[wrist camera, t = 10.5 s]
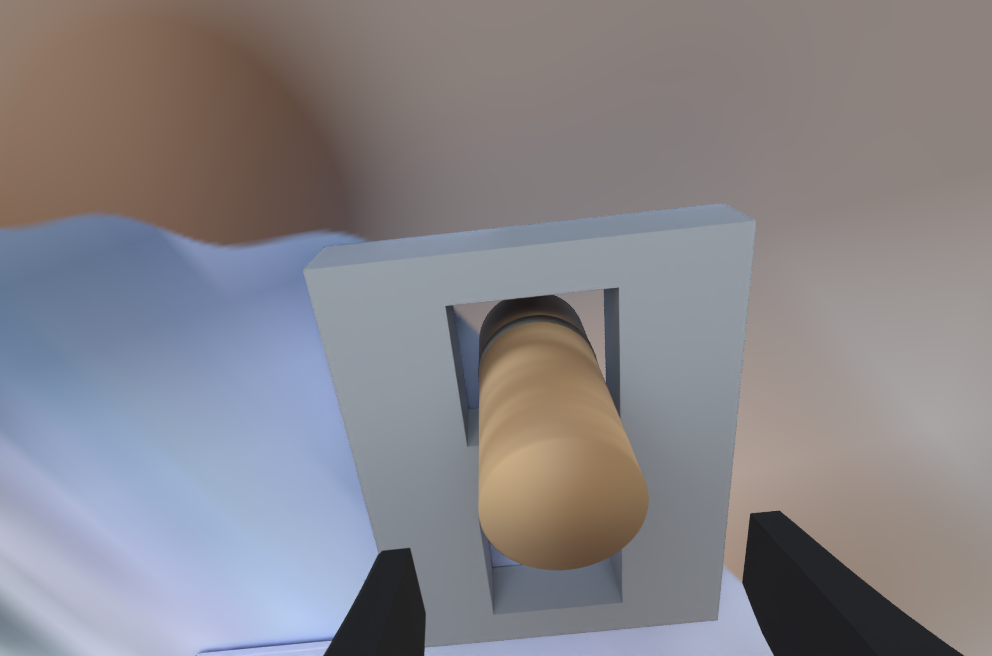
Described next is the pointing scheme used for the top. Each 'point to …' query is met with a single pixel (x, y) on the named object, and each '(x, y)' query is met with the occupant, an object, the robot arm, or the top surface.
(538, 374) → the peg
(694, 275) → the board
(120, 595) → the top surface
